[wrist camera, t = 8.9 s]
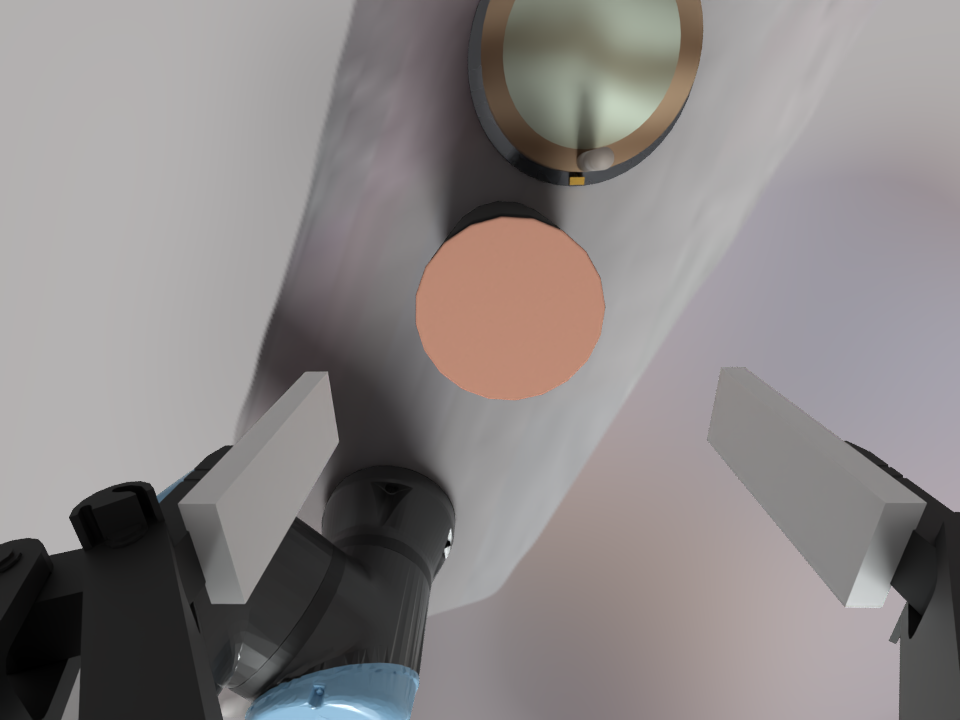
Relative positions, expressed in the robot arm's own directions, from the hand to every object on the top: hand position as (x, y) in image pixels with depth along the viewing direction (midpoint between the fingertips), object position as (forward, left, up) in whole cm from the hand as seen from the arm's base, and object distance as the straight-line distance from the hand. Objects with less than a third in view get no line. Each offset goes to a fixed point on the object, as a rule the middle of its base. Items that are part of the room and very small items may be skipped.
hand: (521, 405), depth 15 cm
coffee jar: (0, 0, -29) cm, 29 cm away
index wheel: (+14, +9, -29) cm, 33 cm away
